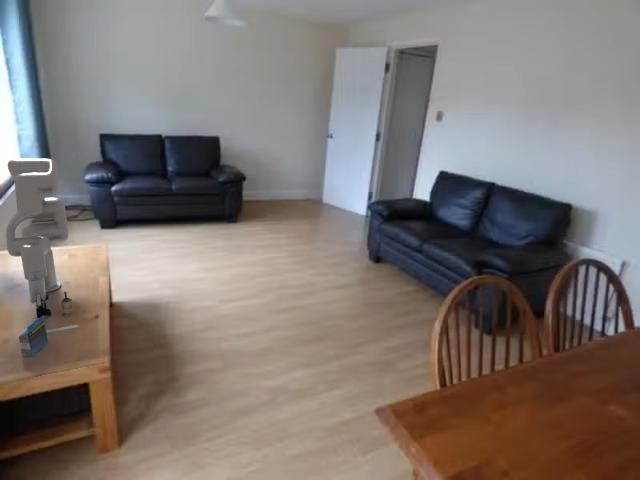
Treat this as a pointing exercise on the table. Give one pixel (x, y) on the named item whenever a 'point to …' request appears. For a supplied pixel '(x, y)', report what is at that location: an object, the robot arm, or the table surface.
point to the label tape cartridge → (33, 338)
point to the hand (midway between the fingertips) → (42, 313)
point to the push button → (46, 308)
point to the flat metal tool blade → (61, 328)
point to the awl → (66, 306)
